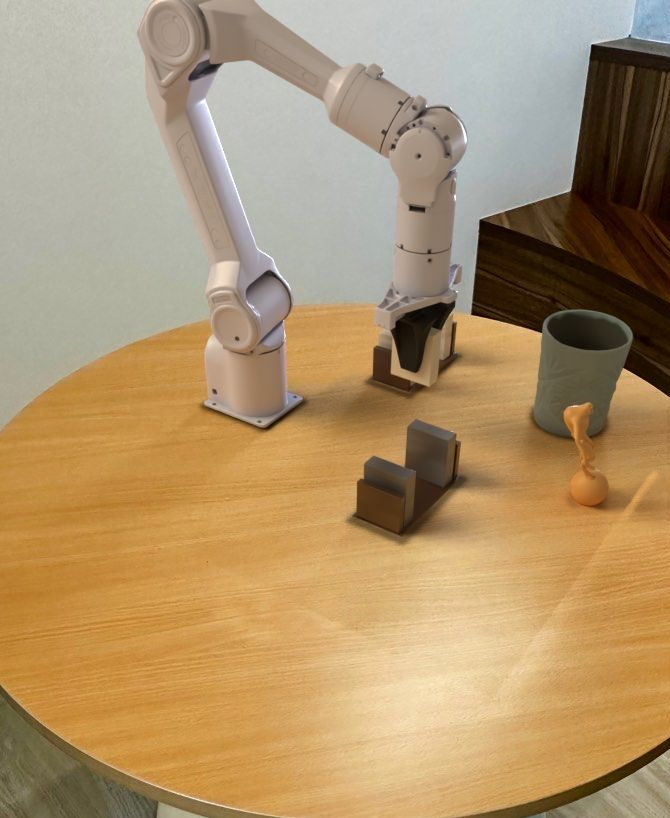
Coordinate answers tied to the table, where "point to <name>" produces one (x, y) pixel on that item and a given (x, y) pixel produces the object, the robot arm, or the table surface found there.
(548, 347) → the grey green cup
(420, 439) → the brown book rack
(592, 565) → the table surface
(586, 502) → the figurine
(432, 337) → the white book
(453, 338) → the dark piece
